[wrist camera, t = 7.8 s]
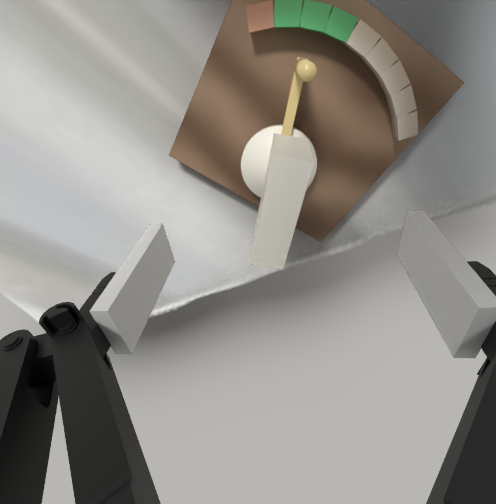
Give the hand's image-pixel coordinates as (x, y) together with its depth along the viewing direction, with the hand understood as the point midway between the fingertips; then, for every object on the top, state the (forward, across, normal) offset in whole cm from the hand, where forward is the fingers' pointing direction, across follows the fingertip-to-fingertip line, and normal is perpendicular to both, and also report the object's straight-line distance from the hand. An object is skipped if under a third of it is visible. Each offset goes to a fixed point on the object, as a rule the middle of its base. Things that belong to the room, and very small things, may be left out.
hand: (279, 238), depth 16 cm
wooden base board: (+16, +2, +3) cm, 17 cm away
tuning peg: (+14, 0, +2) cm, 14 cm away
